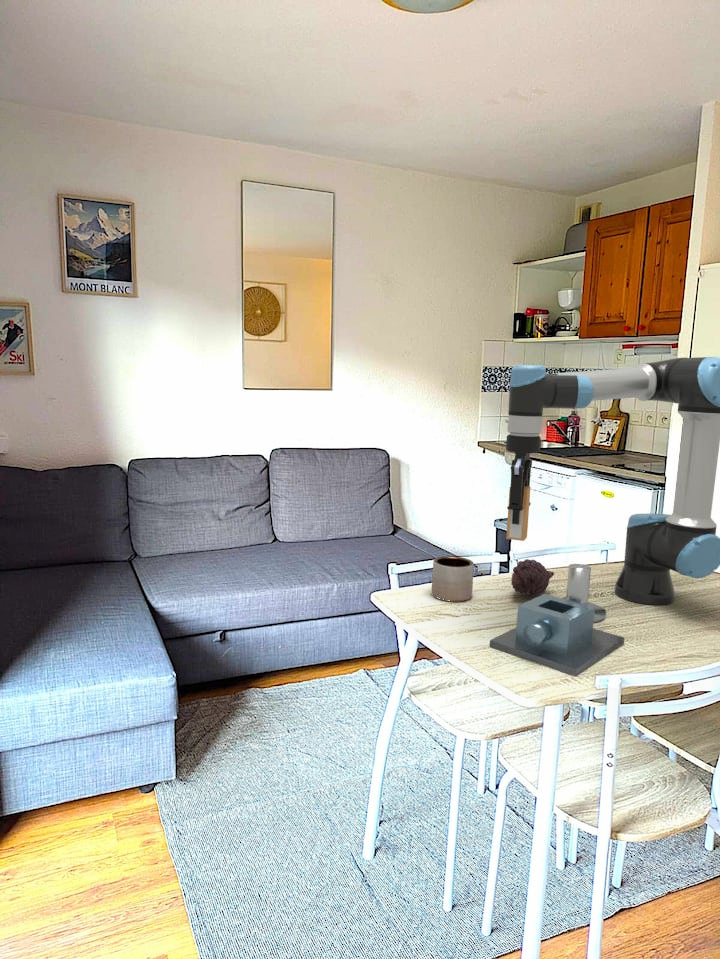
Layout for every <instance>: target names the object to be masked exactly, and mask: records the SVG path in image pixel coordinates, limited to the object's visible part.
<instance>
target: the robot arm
mask: <svg viewBox="0 0 720 959" xmlns="http://www.w3.org/2000/svg"><path fill="white" fill-rule="evenodd" d="M508 387H509V393H508V395H509V396H508V397H509V398H508V416H507V417H508V418H505V420H504V422H505V423H507V427H506V428H507V429H506V430H507V432H508V433H509V434H507V435H506V441H505V443H506V444H505V449H506V451H507V452H510V453H514V454H515V455H514V459H512V460H511V466H510V486H509V490H510V504H509V503H508V505H507V507H506V508H507V510H508V509H511V513H510V529H509V537H512V538H520V539H521V538H522V523H523V510H522V509H523V497H524V487H525V486H531V484H530V483H531V471H532V466H533V460H532V459H531V455H530V454H538V453H540V452H541V451H540V450H541V442H542V440H541V439H542V438H541V436H540V434H542V433H543V430H542V428H543V419H544V418H543V417H544V416H543V413H544V409H567V410H569V409H571V410H577V409H579V410H580V409H585V408H587V407H588V406H589V405H590V404H591V403H592V402H595V401H606V400H621V399H633V398H634V399H637V400H639V401H640V402H641V401H642V402H645V401H654V402H655V401H657V402H665V403H672V404H673V403H674V404H678V405H677V413H678V414H679V415H680V417H681V418H682V419H683V420H682V422H683V423H682V427H681V428H682V430H681V438H680V446H679V456H678V463H677V464H678V465H677V473H676V482H675V483H676V484H675V491H674V500H673V501H674V502H673V509H672V510H673V511H672V513H671V514H668V513H667V514H666V513H634V514H631V515H630V516H629V518H628V522H627V526H626V538H625V550H624V560H623V563H624V564H623V567H622V570H621V572H620V573H619V576H618V578H617V580H616V582H615V585H614V593H615V595H617V597H619V598H621V599H624V600H627V601H630V602H634V603H637V604H644V605H653V606H654V605H655V606H662V605H670V604H671V603H674V601H675V594H676V593H675V588H674V584H673V581H672V576H671V571H673V572H676V573H678V574H679V575H682V576H685V577H690V578H694V579H701V578H706V577H709V576H710V575H711V574H713V573H714V571H716V570H717V569H718V568H719V567H720V537H719V536H717V535H716V532H717V523H716V522H715V520H713V519H712V517H711V516H712V512H713V510H712V509H713V503H714V502H713V500H714V493H715V492H714V491H715V486H716V485H715V484H716V475H717V468H718V460H719V453H720V452H719V451H720V357H719V356H708V357H707V356H704V357H701V356H700V357H677V358H671V359H665V360H660V361H655V362H646V363H638V365H636V366H635V367H630V368H629V367H627V368H626V367H625V368H613V369H611V368H610V369H600V370H596V369H595V370H584V371H583V370H582V371H569V372H568V371H567V372H555V373H554V372H553V373H547V370H546V367H545V366H544V365H534V364H533V365H529V364H528V365H527V364H526V365H524V364H516V365H513V367H512V368H511V373H510V380H509V386H508ZM508 506H509V507H508ZM530 506H531V502H530V501H529V507H530Z"/></svg>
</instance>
